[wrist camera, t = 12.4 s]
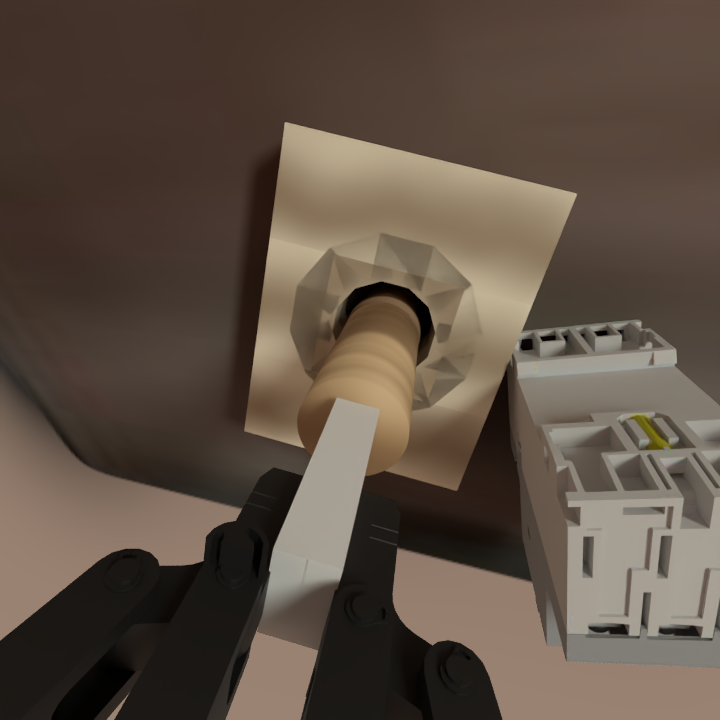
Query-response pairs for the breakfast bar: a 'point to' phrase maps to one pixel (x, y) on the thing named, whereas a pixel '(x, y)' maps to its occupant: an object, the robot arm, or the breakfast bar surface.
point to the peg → (370, 374)
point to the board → (399, 282)
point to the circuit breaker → (618, 495)
